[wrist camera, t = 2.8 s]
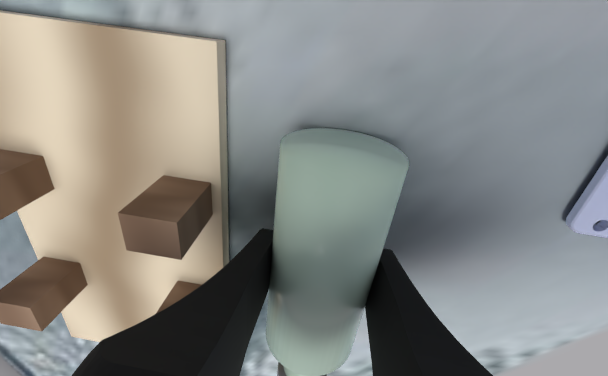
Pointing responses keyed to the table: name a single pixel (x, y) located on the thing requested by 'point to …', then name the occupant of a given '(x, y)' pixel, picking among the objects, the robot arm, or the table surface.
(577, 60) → the table surface
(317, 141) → the bottle
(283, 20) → the table surface
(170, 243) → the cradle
